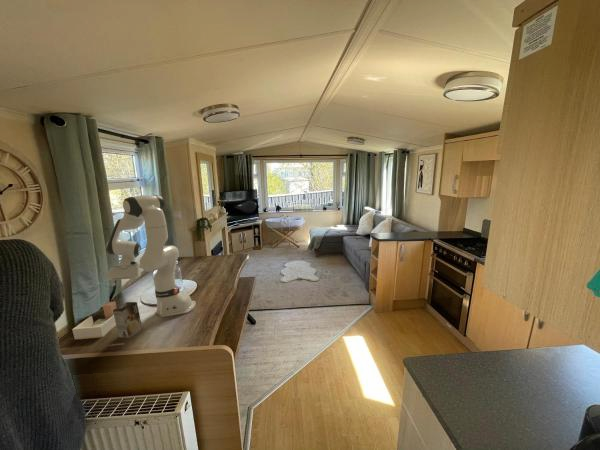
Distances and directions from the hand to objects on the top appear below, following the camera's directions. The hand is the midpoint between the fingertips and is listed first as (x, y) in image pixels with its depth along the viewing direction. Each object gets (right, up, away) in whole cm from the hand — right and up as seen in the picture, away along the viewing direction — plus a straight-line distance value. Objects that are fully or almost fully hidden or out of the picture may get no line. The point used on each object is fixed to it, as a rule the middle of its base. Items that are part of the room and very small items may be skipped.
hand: (120, 285), depth 168 cm
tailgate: (+4, -18, -19) cm, 26 cm away
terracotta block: (+2, -17, -10) cm, 20 cm away
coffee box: (+25, -19, -28) cm, 43 cm away
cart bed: (+5, -20, -25) cm, 32 cm away
